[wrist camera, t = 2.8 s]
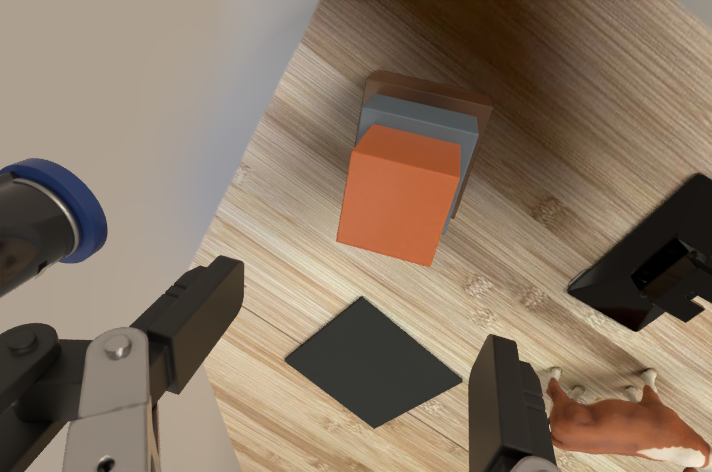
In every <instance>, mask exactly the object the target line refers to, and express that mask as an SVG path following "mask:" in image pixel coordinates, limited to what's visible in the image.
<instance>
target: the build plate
mask: <svg viewBox="0 0 712 472" xmlns="http://www.w3.org/2000/svg"><path fill="white" fill-rule="evenodd" d="M567 291H568V294H570V295H572V296H573V297H575V298H577V299H579V300H580V301H582V302H584V303H585V304H587V305H589V306H591V307H592V308H594V309H596V310H598V311H599V312H601V313H603V314H605V315H606V316H608V317H610V318H612V319H613V320H615V321H617V322H619V323H620V324H622V325H624V326H626V327H627V328H629V329H631V330H633V331H635V332H638V331H640V330H641V329H642V328H644V327H645V326H647V325H648V324H649V323H651V322H652V321H653V320H655V319H656V318H658V317H659V316H660V315H662V314H663V313H665V312H667V313H669V314H671V315H673V316H674V317H676V318H678V319H680V320H681V321H683V322H685V323H686V322H688V321H689V320H691V319H692V318H694V317H695V316H697V315H698V314H700V313H701V312H702V311H704V310H705V308H704V307H703V306H702V305H701V304H699V303H697V302H696V301H694V300H692V299H693V298H695V297H696V296H700V297H701V298H703V299H705V300H707V301H708V302H710V303H712V179H710V178H708V177H707V176H705V175H703V174H702V173H696V174H695V175H693V176H692V177H691V178H690V179H689V180H688V181H687V182H686V183H685V184H683V185H682V186H681V187H680V188H679V189H678V190H677V191H676V192H675V193H673V194H672V195H671V196H670V197H669V198H668V199H667V200H666V201H665V202H663V203H662V204H661V205H660V206H659V207H658V208H657V209H656V210H655V211H653V212H652V213H651V214H650V215H649V216H648V217H647V218H646V219H645V220H643V221H642V222H641V223H640V224H639V225H638V226H637V227H636V228H635V229H633V230H632V231H631V232H630V233H629V234H628V235H627V236H626V237H625V238H623V239H622V240H621V241H620V242H619V243H618V244H617V245H616V246H615V247H613V248H612V249H611V250H610V251H609V252H608V253H607V254H606V255H605V256H603V257H602V258H601V259H600V260H599V261H598V262H597V263H596V264H595V265H593V266H592V267H591V268H590V269H587V270H584V271H582V272H581V273H580V274H579V275H578V276H577V277H576V278H574V279H573V280H572V281H571V282H570V283H569V286H568V289H567Z"/></svg>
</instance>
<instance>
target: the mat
mask: <svg viewBox="0 0 712 472" xmlns="http://www.w3.org/2000/svg"><path fill="white" fill-rule="evenodd" d="M284 361H285V362H286V363H288V364H289V365H290V366H292V367H293V368H294V369H296V370H297V371H298V372H300V373H301V374H302V375H304V376H305V377H306V378H308V379H309V380H310V381H312V382H313V383H314V384H316V385H317V386H318V387H320V388H321V389H322V390H324V391H325V392H326V393H327V394H329V395H330V396H331V397H333V398H334V399H335V400H337V401H338V402H339V403H341V404H342V405H343V406H345V407H346V408H347V409H349V410H350V411H351V412H353V413H354V414H355V415H357V416H358V417H359V418H361V419H362V420H363V421H365V422H366V423H367V424H369V425H370V426H371V427H372V428H374V429H375V428H377V427H379V426H381V425H382V424H384V423H386V422H388V421H390V420H392V419H394V418H396V417H398V416H400V415H401V414H403V413H405V412H407V411H409V410H411V409H413V408H415V407H417V406H418V405H420V404H422V403H424V402H426V401H428V400H430V399H432V398H434V397H435V396H437V395H439V394H441V393H443V392H445V391H447V390H449V389H451V388H452V387H454V386H456V385H458V384H460V383H462V379H461V378H460V377H459V376H458V375H456V374H455V373H454V372H453V371H452V370H450V369H449V368H448V367H447V366H445V365H444V364H443V363H442V362H441V361H439V360H438V359H437V358H436V357H435V356H433V355H432V354H431V353H430V352H429V351H427V350H426V349H425V348H424V347H423V346H421V345H420V344H419V343H418V342H416V341H415V340H414V339H413V338H412V337H410V336H409V335H408V334H407V333H406V332H404V331H403V330H402V329H401V328H400V327H398V326H397V325H396V324H395V323H393V322H392V321H391V320H390V319H389V318H387V317H386V316H385V315H384V314H383V313H381V312H380V311H379V310H378V309H377V308H375V307H374V306H373V305H372V304H371V303H369V302H368V301H367V300H366V299H364V298H363V297H360V298H359V299H358V300H357V301H356V302H354V303H353V304H352V305H351V306H349V307H348V308H347V309H346V310H344V311H343V312H342V313H341V314H340V315H338V316H337V317H336V318H335V319H333V320H332V321H331V322H330V323H328V324H327V325H326V326H325V327H323V328H322V329H321V330H320V331H319V332H317V333H316V334H315V335H314V336H312V337H311V338H310V339H309V340H307V341H306V342H305V343H304V344H303V345H301V346H300V347H299V348H298V349H296V350H295V351H294V352H293V353H291V354H290V355H289V356H288V357H286V358H285V360H284Z"/></svg>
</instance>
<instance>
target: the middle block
mask: <svg viewBox="0 0 712 472" xmlns="http://www.w3.org/2000/svg"><path fill="white" fill-rule="evenodd" d="M372 124H376V125H381V126H385V127H389V128H393V129H397V130H401V131H406V132H410V133H414V134H418V135H422V136H426V137H431V138H435V139H439V140H443V141H447V142H451V143H456V144H460V146H461V148H460V180H459V183H458V186H457V189H456V192H455V195H454V198H453V201H452V204H451V207H450V210H449V213H448V216H447V219H446V222H445V225H444V228H443V231H442V235H444V234H445V232H446V229H447V226H448V223H449V220H450V218H451V215H452V212H453V209H454V206H455V203H456V200H457V197H458V194H459V191H460V188H461V185H462V182H463V179H464V177H465V174H466V171H467V168H468V165H469V162H470V159H471V156H472V153H473V150H474V147H475V144H476V141H477V139H478V136H479V135H478V126H477V117H476V116H471V115H467V114H463V113H458V112H454V111H450V110H445V109H441V108H437V107H432V106H428V105H424V104H419V103H415V102H411V101H406V100H402V99H398V98H393V97H389V96H385V95H380V94H375V95H374V96H373V97H372V98H371V99H370V100H369V101H368V102H367V103H366V104H365V105H364V106H363V107H362V111H361V117H360V122H359V128H358V134H357V139H356V145H357V144H358V142H359V141H360V140H361V139H362V137H363V136H364V135H365V133H366V132H367V131H368V129H369V128H370V127H371V125H372ZM356 145H355V146H356Z"/></svg>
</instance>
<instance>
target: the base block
mask: <svg viewBox="0 0 712 472" xmlns="http://www.w3.org/2000/svg"><path fill="white" fill-rule="evenodd" d="M375 94H380V95H385V96H389V97H393V98H398V99H402V100H406V101H411V102H415V103H419V104H424V105H428V106H432V107H437V108H441V109H445V110H450V111H454V112H458V113H463V114H467V115H471V116H476V117H477V126H478V135H479V136H478V139H477V141H476V144H475V147H474V150H473V153H472V156H471V159H470V162H469V165H468V168H467V171H466V174H465V177H464V179H463V182H462V185H461V188H460V191H459V194H458V197H457V200H456V203H455V206H454V209H453V212H452V215H451V219H454V218H455V215H456V212H457V210H458V207H459V204H460V201H461V198H462V195H463V192H464V190H465V187H466V184H467V181H468V178H469V175H470V172H471V169H472V167H473V164H474V161H475V158H476V155H477V152H478V149H479V146H480V144H481V141H482V138H483V135H484V132H485V129H486V126H487V123H488V121H489V118H490V115H491V112H492V109H493V106H492V102H491V99H490V95H489V94H485V93H480V92H476V91H471V90H467V89H463V88H458V87H454V86H449V85H445V84H440V83H436V82H431V81H427V80H422V79H418V78H413V77H409V76H405V75H400V74H396V73H391V72H387V71H382V70H377V71H376V72H374V73H373V74H372V75H370V76H369V77H368V78H367V79H366V84H365V89H364V95H363V101H362V107H363V106H364V105H365V104H366V103H367V102H368V101H369V100H370V99H371V98H372V97H373V96H374V95H375ZM362 107H361V111H362ZM360 117H361V112H360ZM359 122H360V118H359ZM358 128H359V124H358ZM357 134H358V130H357ZM356 139H357V135H356ZM355 145H356V141H355ZM354 148H355V147H354Z"/></svg>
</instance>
